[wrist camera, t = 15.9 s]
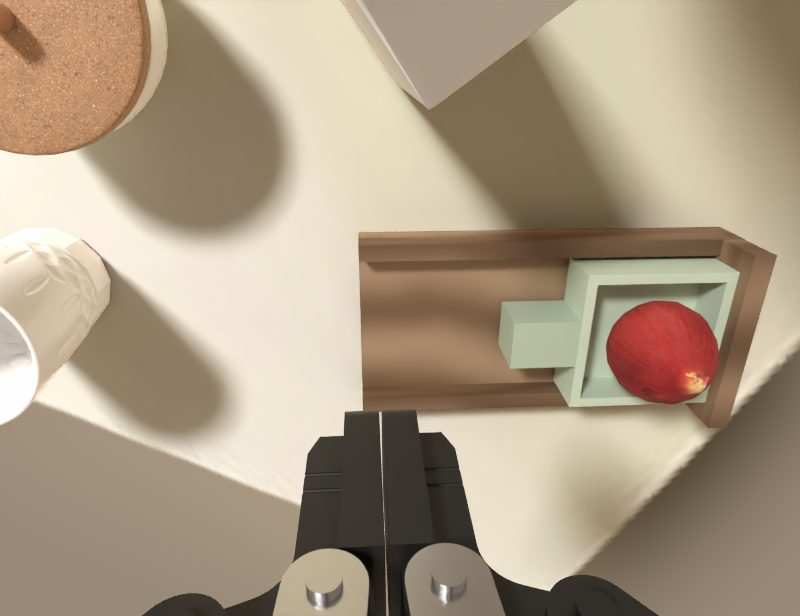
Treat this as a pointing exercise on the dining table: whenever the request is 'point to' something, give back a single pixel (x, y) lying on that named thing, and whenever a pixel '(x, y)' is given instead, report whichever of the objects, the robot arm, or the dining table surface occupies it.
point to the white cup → (44, 309)
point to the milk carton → (446, 38)
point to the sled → (608, 319)
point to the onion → (663, 352)
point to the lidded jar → (76, 70)
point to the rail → (514, 281)
